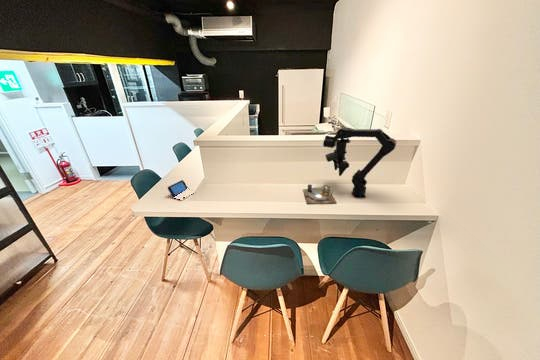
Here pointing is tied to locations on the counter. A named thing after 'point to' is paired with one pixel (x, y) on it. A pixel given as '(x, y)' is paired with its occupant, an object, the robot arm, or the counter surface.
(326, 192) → the roller
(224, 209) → the counter surface
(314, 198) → the sprocket
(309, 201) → the sprocket base
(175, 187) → the handheld game console
